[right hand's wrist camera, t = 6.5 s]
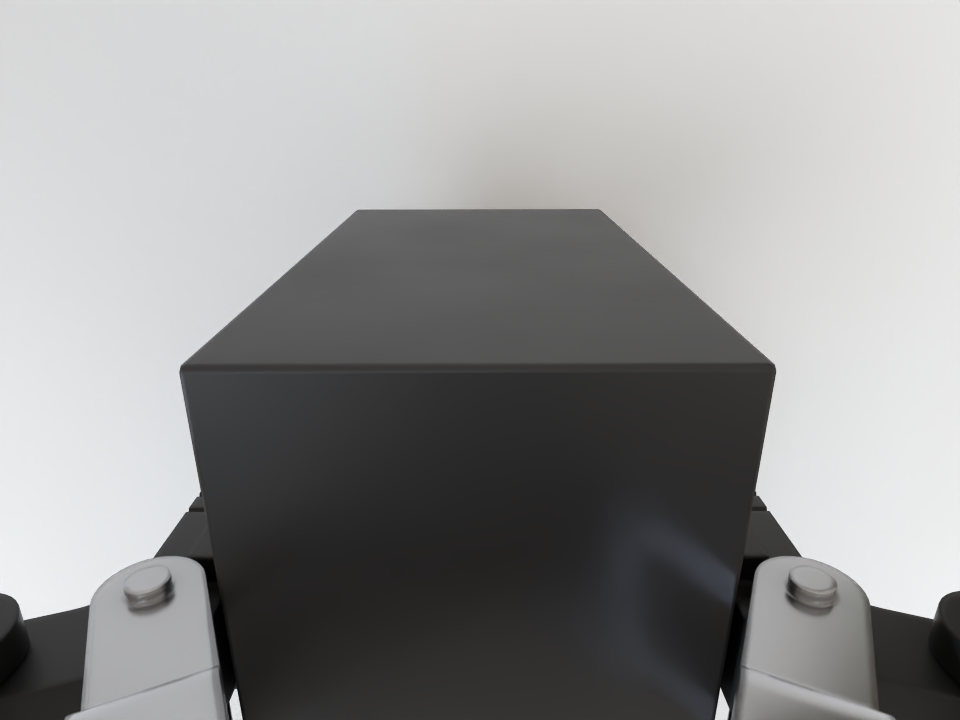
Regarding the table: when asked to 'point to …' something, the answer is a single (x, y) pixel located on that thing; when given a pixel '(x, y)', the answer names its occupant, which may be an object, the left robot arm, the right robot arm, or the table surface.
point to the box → (478, 475)
